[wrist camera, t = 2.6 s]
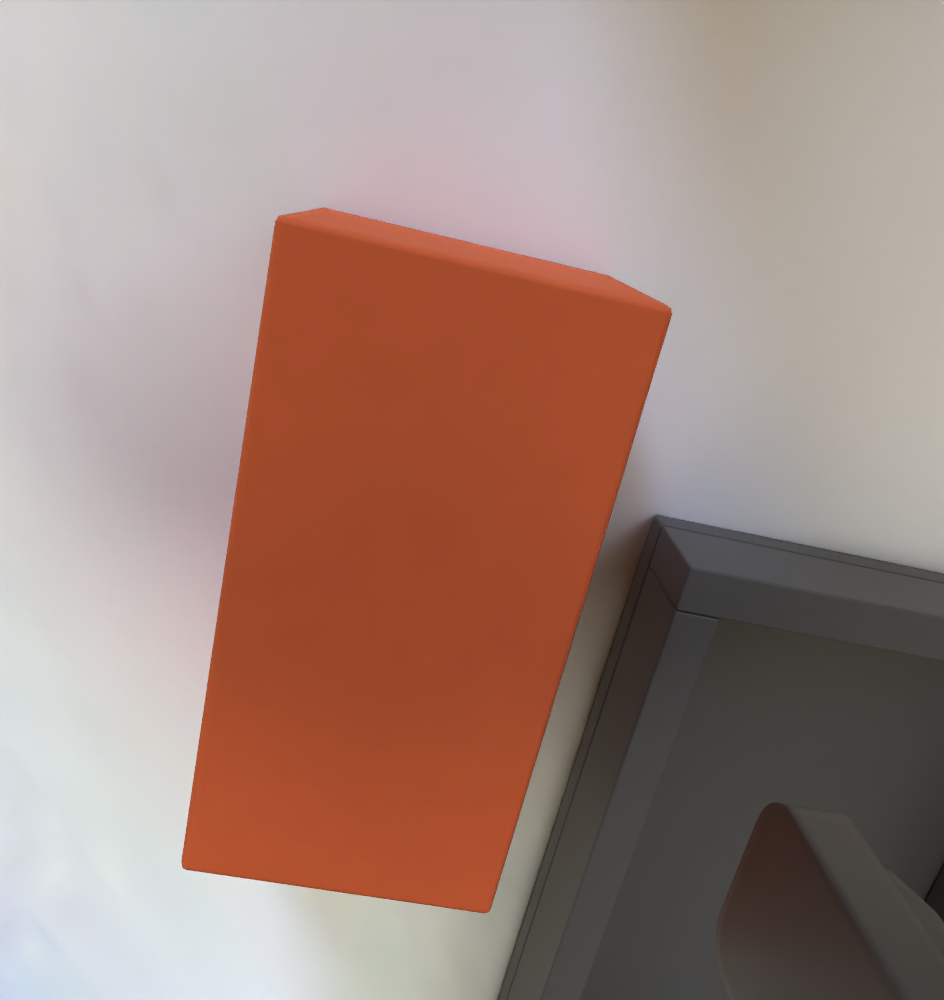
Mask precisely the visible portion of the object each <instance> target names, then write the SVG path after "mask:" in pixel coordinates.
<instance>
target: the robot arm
mask: <svg viewBox="0 0 944 1000" xmlns="http://www.w3.org/2000/svg"><path fill="white" fill-rule="evenodd" d="M716 956H717V963H718V968H719V972H720V975H721V979H722V981H723V984H724V987H725V989H726V992H727V995H728V997H729V1000H944V922H943V921H942V919H941V918H940V917H939V915H938V914H937V912H936V911H935V910H933V909H932V908H931V907H930V906H929V905H928V904H927V903H926V902H925V901H924V900H922V899H921V898H920V897H919V896H918V895H917V894H916V893H915V892H914V891H913V890H911V889H910V888H909V887H908V886H907V885H906V884H905V883H904V882H903V881H902V880H900V879H899V878H898V877H897V876H896V875H895V874H894V873H893V872H892V871H891V870H885V868H884V867H883V865H882V864H881V862H880V861H879V859H878V858H877V856H876V855H875V854H874V852H873V851H872V849H871V848H870V846H869V845H868V843H867V842H866V840H865V839H864V837H863V836H862V835H861V833H860V832H859V830H858V829H857V827H856V826H855V824H854V823H853V822H852V821H851V819H850V818H848V817H847V816H846V815H844V814H842V813H838V812H832V811H826V810H820V809H814V808H808V807H802V806H795V805H789V804H783V803H777V802H774V803H770V804H769V805H767V806H766V807H765V808H764V809H763V810H762V812H761V813H760V815H759V817H758V819H757V821H756V823H755V826H754V828H753V831H752V833H751V836H750V838H749V841H748V843H747V846H746V848H745V851H744V853H743V856H742V858H741V861H740V863H739V866H738V868H737V871H736V873H735V876H734V878H733V880H732V883H731V885H730V888H729V890H728V893H727V895H726V898H725V900H724V903H723V905H722V908H721V911H720V914H719V918H718V922H717V929H716Z"/></svg>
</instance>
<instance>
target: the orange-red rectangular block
mask: <svg viewBox="0 0 944 1000" xmlns="http://www.w3.org/2000/svg"><path fill="white" fill-rule="evenodd" d="M671 315H672V313H671V308H669V307H668V306H667V305H665V304H663V303H661V302H659V301H657V300H655V299H653V298H651V297H649V296H647V295H645V294H643V293H641V292H639V291H637V290H635V289H634V288H632V287H630V286H628V285H626V284H624V283H622V282H620V281H618V280H616V279H614V278H612V277H610V276H607V275H603V274H599V273H595V272H590V271H586V270H582V269H578V268H574V267H570V266H565V265H561V264H557V263H553V262H549V261H544V260H540V259H536V258H532V257H528V256H523V255H519V254H515V253H511V252H507V251H503V250H498V249H494V248H490V247H486V246H482V245H477V244H473V243H469V242H465V241H461V240H456V239H452V238H448V237H444V236H440V235H436V234H431V233H427V232H423V231H419V230H415V229H410V228H406V227H402V226H398V225H394V224H389V223H385V222H381V221H377V220H373V219H368V218H364V217H360V216H356V215H352V214H348V213H343V212H339V211H335V210H331V209H327V208H319V209H314V210H309V211H303V212H298V213H293V214H287V215H282V216H278V218H277V220H276V221H275V227H274V234H273V241H272V248H271V254H270V261H269V268H268V275H267V282H266V288H265V295H264V302H263V309H262V316H261V323H260V329H259V336H258V343H257V350H256V357H255V364H254V370H253V377H252V384H251V391H250V398H249V404H248V411H247V418H246V425H245V432H244V439H243V445H242V452H241V459H240V466H239V473H238V480H237V486H236V493H235V500H234V507H233V514H232V520H231V527H230V534H229V541H228V548H227V555H226V561H225V568H224V575H223V582H222V589H221V596H220V602H219V609H218V616H217V623H216V630H215V636H214V643H213V650H212V657H211V664H210V671H209V677H208V684H207V691H206V698H205V705H204V712H203V718H202V725H201V732H200V739H199V746H198V752H197V759H196V766H195V773H194V780H193V787H192V793H191V800H190V807H189V814H188V821H187V828H186V834H185V841H184V848H183V855H182V867H183V868H184V869H186V870H192V871H199V872H206V873H213V874H219V875H226V876H233V877H240V878H247V879H254V880H260V881H267V882H274V883H281V884H288V885H295V886H301V887H308V888H315V889H322V890H329V891H336V892H343V893H349V894H356V895H363V896H370V897H377V898H384V899H390V900H397V901H404V902H411V903H418V904H425V905H432V906H438V907H445V908H452V909H459V910H466V911H473V912H479V913H488V912H489V911H490V909H491V906H492V903H493V899H494V896H495V893H496V890H497V886H498V883H499V880H500V876H501V873H502V870H503V867H504V863H505V860H506V857H507V853H508V850H509V847H510V844H511V840H512V837H513V834H514V830H515V827H516V824H517V821H518V817H519V814H520V811H521V807H522V804H523V801H524V798H525V794H526V791H527V788H528V785H529V781H530V778H531V775H532V771H533V768H534V765H535V762H536V758H537V755H538V752H539V748H540V745H541V742H542V739H543V735H544V732H545V729H546V725H547V722H548V719H549V716H550V712H551V709H552V706H553V702H554V699H555V696H556V693H557V689H558V686H559V683H560V680H561V676H562V673H563V670H564V666H565V663H566V660H567V657H568V653H569V650H570V647H571V643H572V640H573V637H574V634H575V630H576V627H577V624H578V620H579V617H580V614H581V611H582V607H583V604H584V601H585V597H586V594H587V591H588V588H589V584H590V581H591V578H592V575H593V571H594V568H595V565H596V561H597V558H598V555H599V552H600V548H601V545H602V542H603V538H604V535H605V532H606V529H607V525H608V522H609V519H610V515H611V512H612V509H613V506H614V502H615V499H616V496H617V493H618V489H619V486H620V483H621V479H622V476H623V473H624V470H625V466H626V463H627V460H628V456H629V453H630V450H631V447H632V443H633V440H634V437H635V433H636V430H637V427H638V424H639V420H640V417H641V414H642V410H643V407H644V404H645V401H646V397H647V394H648V391H649V388H650V384H651V381H652V378H653V374H654V371H655V368H656V365H657V361H658V358H659V355H660V351H661V348H662V345H663V342H664V338H665V335H666V332H667V328H668V325H669V322H670V319H671Z"/></svg>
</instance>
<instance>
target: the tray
mask: <svg viewBox="0 0 944 1000" xmlns="http://www.w3.org/2000/svg"><path fill="white" fill-rule="evenodd" d="M774 802H777V803H783V804H789V805H795V806H802V807H808V808H814V809H820V810H826V811H832V812H838V813H842V814H844V815H846V816H847V817H848V818H850V819H851V821H852V822H853V823H854V824H855V826H856V827H857V829H858V830H859V832H860V833H861V835H862V836H863V837H864V839H865V840H866V842H867V843H868V845H869V846H870V848H871V849H872V851H873V852H874V854H875V855H876V856H877V858H878V859H879V861H880V862H881V864H882V865H883V867H884V868H885V870H891V871H892V872H893V873H894V874H895V875H896V876H897V877H898V878H899V879H900V880H902V881H903V882H904V883H905V884H906V885H907V886H908V887H909V888H910V889H911V890H913V891H914V892H915V893H916V894H917V895H918V896H919V897H920V898H921V899H922V900H924V901H925V902H926V903H927V904H928V905H929V906H930V907H931V908H932V909H933V910H935V911H936V912H937V914H938V915H939V917H940V918H941V919H942V921H943V922H944V574H941V573H936V572H931V571H926V570H921V569H916V568H911V567H907V566H902V565H897V564H892V563H887V562H882V561H878V560H873V559H868V558H863V557H858V556H853V555H848V554H844V553H839V552H834V551H829V550H824V549H819V548H815V547H810V546H805V545H800V544H795V543H790V542H785V541H781V540H776V539H771V538H766V537H761V536H756V535H752V534H747V533H742V532H737V531H732V530H727V529H722V528H718V527H713V526H708V525H703V524H698V523H693V522H689V521H684V520H679V519H674V518H669V517H664V516H659V515H655V517H654V518H653V521H652V525H651V528H650V531H649V534H648V537H647V540H646V543H645V546H644V549H643V552H642V556H641V559H640V562H639V565H638V568H637V571H636V574H635V577H634V580H633V583H632V586H631V590H630V593H629V596H628V599H627V602H626V605H625V608H624V611H623V614H622V617H621V621H620V624H619V627H618V630H617V633H616V636H615V639H614V642H613V645H612V648H611V651H610V655H609V658H608V661H607V664H606V667H605V670H604V673H603V676H602V679H601V682H600V685H599V689H598V692H597V695H596V698H595V701H594V704H593V707H592V710H591V713H590V716H589V720H588V723H587V726H586V729H585V732H584V735H583V738H582V741H581V744H580V747H579V750H578V754H577V757H576V760H575V763H574V766H573V769H572V772H571V775H570V778H569V781H568V785H567V788H566V791H565V794H564V797H563V800H562V803H561V806H560V809H559V812H558V815H557V819H556V822H555V825H554V828H553V831H552V834H551V837H550V840H549V843H548V846H547V849H546V853H545V856H544V859H543V862H542V865H541V868H540V871H539V874H538V877H537V880H536V884H535V887H534V890H533V893H532V896H531V899H530V902H529V905H528V908H527V911H526V914H525V918H524V921H523V924H522V927H521V930H520V933H519V936H518V939H517V942H516V945H515V949H514V952H513V955H512V958H511V961H510V964H509V967H508V970H507V973H506V976H505V979H504V983H503V986H502V989H501V992H500V995H499V998H498V1000H729V997H728V995H727V992H726V989H725V987H724V984H723V981H722V979H721V975H720V972H719V968H718V963H717V956H716V929H717V922H718V918H719V914H720V911H721V908H722V905H723V903H724V900H725V898H726V895H727V893H728V890H729V888H730V885H731V883H732V880H733V878H734V876H735V873H736V871H737V868H738V866H739V863H740V861H741V858H742V856H743V853H744V851H745V848H746V846H747V843H748V841H749V838H750V836H751V833H752V831H753V828H754V826H755V823H756V821H757V819H758V817H759V815H760V813H761V812H762V810H763V809H764V808H765V807H766V806H767V805H769V804H770V803H774Z"/></svg>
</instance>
